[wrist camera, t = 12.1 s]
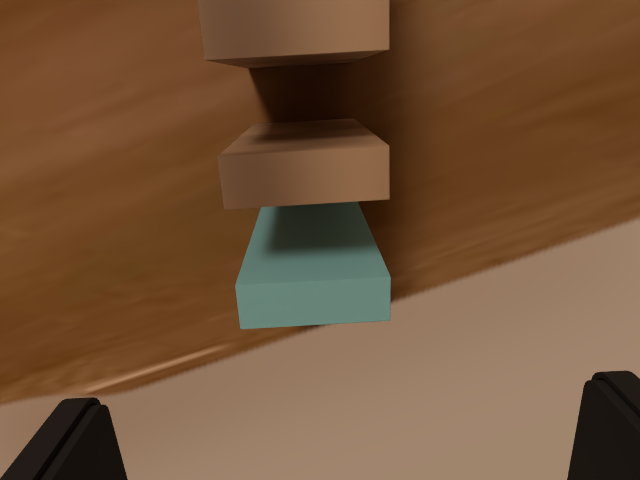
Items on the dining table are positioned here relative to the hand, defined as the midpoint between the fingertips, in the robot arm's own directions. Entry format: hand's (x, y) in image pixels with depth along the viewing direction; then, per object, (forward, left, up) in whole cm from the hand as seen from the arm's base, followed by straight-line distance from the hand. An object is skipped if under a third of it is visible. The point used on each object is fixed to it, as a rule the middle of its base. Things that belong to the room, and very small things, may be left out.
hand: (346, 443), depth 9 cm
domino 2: (+1, -4, -16) cm, 17 cm away
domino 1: (+1, -8, -16) cm, 18 cm away
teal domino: (+1, 0, -16) cm, 16 cm away
